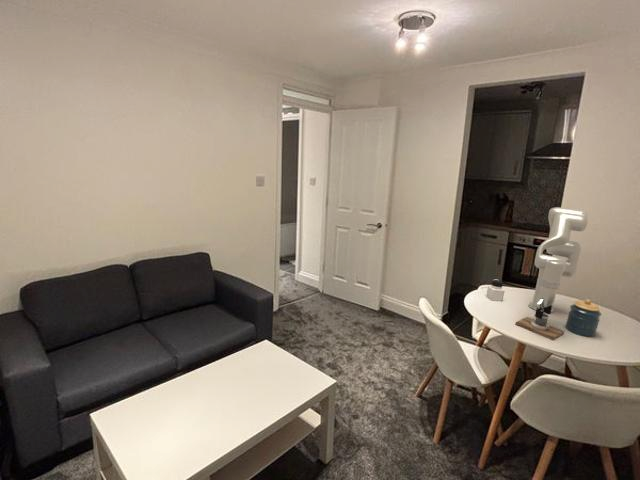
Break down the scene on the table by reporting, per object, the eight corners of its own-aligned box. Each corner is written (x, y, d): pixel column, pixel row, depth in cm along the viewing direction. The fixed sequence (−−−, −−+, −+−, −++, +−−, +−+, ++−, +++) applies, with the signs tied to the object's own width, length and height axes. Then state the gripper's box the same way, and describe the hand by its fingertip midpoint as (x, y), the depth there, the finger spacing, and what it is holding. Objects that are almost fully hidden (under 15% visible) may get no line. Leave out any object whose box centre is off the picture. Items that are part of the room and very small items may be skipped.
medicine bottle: (502, 301, 215) (506, 283, 212) (490, 300, 215) (494, 282, 212) (497, 296, 222) (500, 278, 219) (485, 295, 222) (489, 278, 219)
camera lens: (537, 320, 184) (539, 311, 183) (547, 324, 180) (550, 315, 179) (532, 322, 181) (535, 313, 180) (543, 327, 177) (545, 318, 176)
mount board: (526, 319, 192) (527, 314, 191) (563, 333, 178) (565, 328, 177) (515, 324, 184) (516, 319, 184) (553, 340, 171) (554, 334, 170)
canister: (597, 340, 175) (607, 307, 170) (566, 332, 181) (574, 300, 176) (592, 329, 186) (601, 298, 182) (563, 322, 192) (571, 292, 188)
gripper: (549, 278, 184) (541, 308, 188) (534, 284, 173) (526, 316, 178) (565, 283, 178) (557, 314, 182) (551, 290, 168) (542, 322, 172)
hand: (542, 315), depth 180 cm, fingers open, 9 cm apart
